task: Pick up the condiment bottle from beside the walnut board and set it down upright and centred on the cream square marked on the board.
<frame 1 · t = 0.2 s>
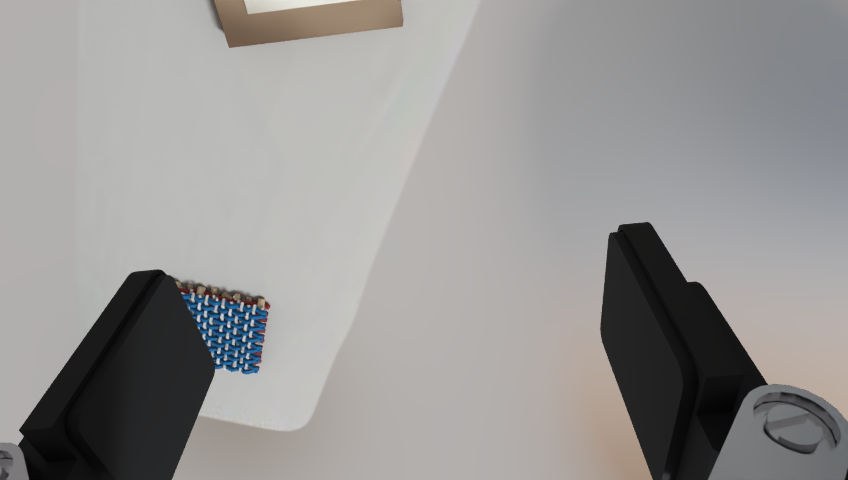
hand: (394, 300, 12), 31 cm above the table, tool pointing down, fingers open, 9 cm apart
woven mat: (214, 320, 55), on the table
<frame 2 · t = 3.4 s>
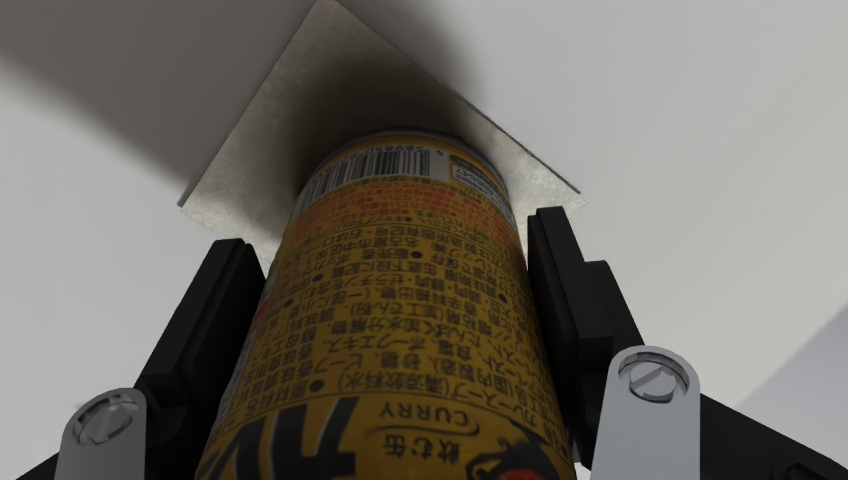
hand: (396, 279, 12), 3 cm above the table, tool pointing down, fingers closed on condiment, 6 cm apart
condiment: (383, 199, 15), on the table, touching gripper
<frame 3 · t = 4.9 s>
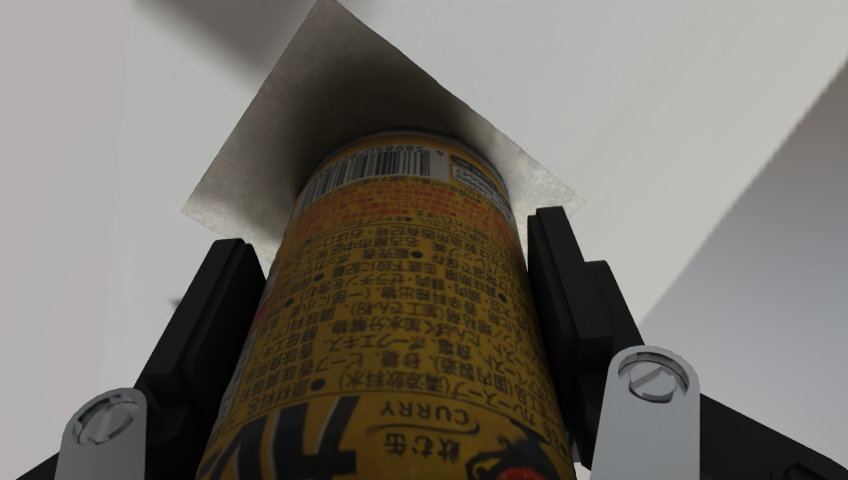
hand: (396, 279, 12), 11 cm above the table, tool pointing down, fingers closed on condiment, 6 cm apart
condiment: (383, 199, 15), point 8 cm above the table, touching gripper
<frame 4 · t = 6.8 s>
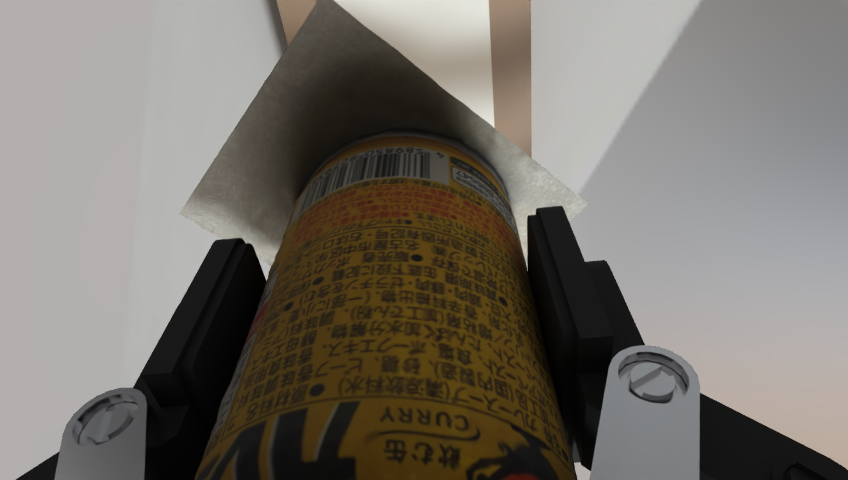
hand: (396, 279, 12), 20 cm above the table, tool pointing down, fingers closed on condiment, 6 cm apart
condiment: (383, 201, 15), point 16 cm above the table, touching gripper
board: (411, 45, 29), on the table
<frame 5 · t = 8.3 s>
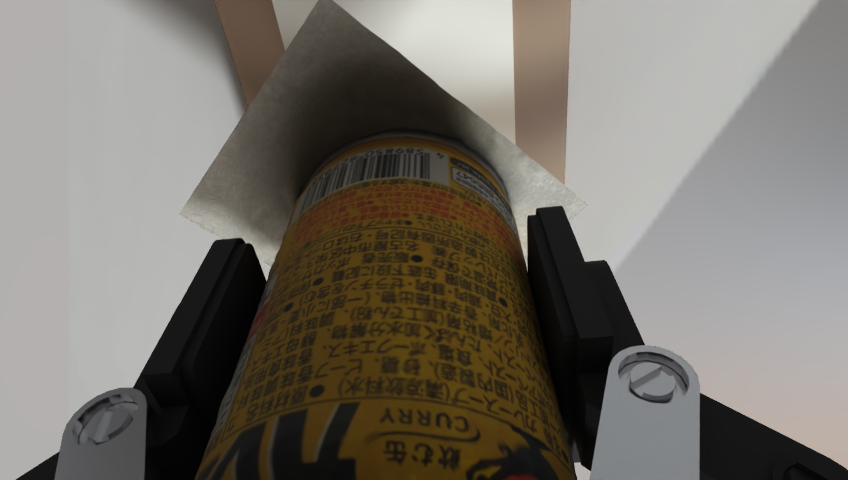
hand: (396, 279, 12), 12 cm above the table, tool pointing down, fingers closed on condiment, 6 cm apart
condiment: (383, 201, 15), point 8 cm above the table, touching gripper
board: (408, 91, 22), on the table
when the fingers open (5 cm above the table, at t = 9.9 s): condiment stays where it is, resting on board.
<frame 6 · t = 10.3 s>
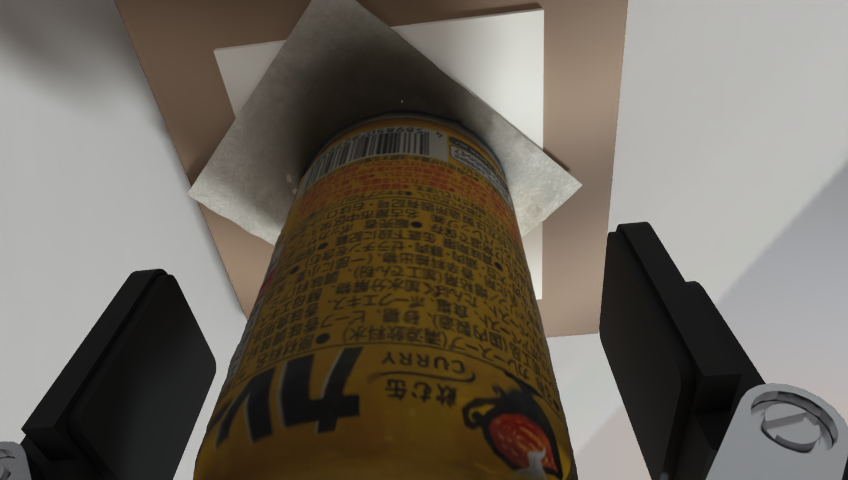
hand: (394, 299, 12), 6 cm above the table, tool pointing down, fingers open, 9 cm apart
condiment: (384, 182, 16), point 1 cm above the table, touching board
board: (403, 165, 17), on the table
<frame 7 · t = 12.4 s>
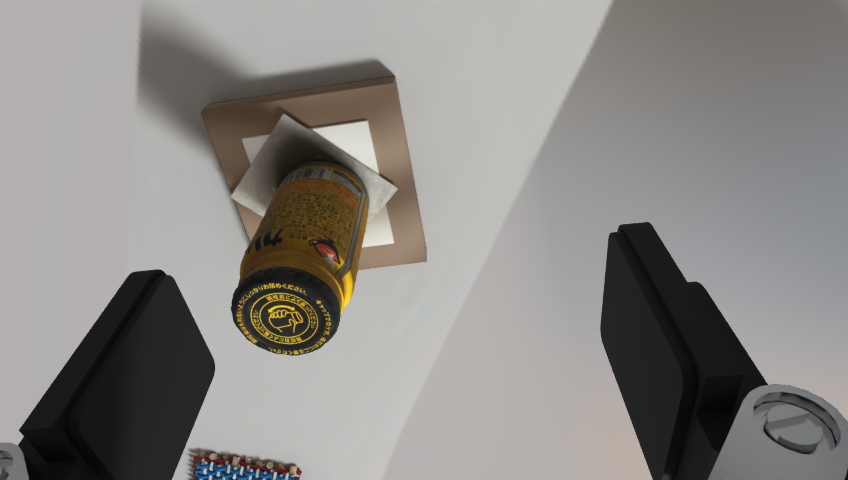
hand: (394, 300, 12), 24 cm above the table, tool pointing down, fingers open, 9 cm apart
condiment: (314, 190, 36), point 1 cm above the table, touching board
board: (326, 182, 37), on the table
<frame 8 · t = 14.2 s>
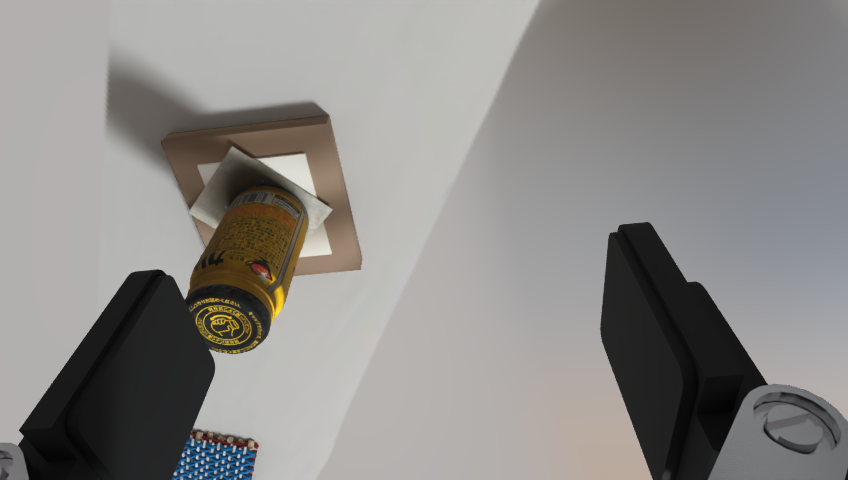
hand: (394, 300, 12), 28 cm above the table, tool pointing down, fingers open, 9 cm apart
condiment: (261, 208, 42), point 1 cm above the table, touching board
board: (272, 201, 43), on the table
woven mat: (210, 452, 64), on the table
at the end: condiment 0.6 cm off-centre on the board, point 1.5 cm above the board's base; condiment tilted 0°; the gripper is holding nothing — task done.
